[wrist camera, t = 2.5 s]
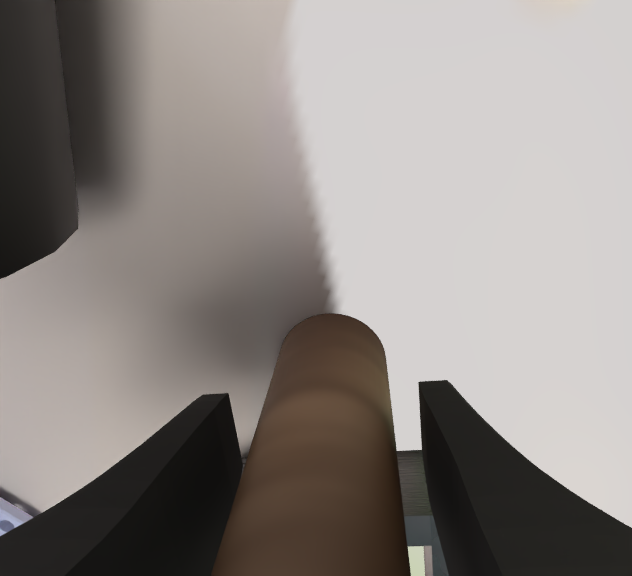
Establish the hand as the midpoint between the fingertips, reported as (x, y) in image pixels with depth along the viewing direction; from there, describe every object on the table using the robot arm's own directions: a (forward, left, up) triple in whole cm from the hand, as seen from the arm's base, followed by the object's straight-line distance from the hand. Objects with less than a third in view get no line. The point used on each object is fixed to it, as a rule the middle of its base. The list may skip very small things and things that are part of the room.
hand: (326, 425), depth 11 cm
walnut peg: (0, 0, -3) cm, 3 cm away
